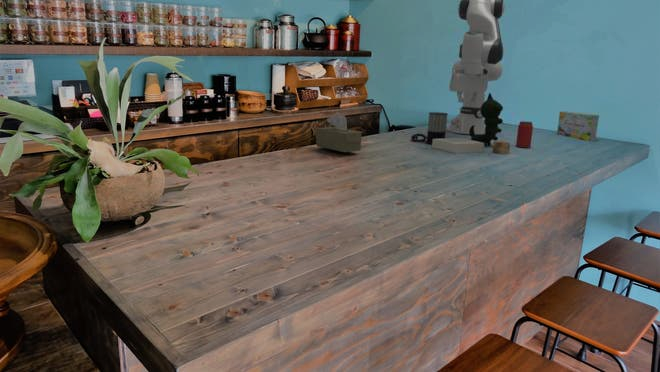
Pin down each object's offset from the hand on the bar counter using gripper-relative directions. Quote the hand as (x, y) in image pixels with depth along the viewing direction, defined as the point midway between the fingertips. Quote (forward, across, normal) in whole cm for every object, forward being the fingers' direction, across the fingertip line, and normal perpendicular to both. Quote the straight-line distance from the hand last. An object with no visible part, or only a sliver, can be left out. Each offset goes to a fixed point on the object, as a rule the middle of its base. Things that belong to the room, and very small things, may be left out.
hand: (466, 102), depth 221 cm
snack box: (+21, +90, +3) cm, 92 cm away
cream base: (+21, -1, +2) cm, 21 cm away
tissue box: (+22, -51, +24) cm, 60 cm away
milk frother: (+21, +1, +23) cm, 31 cm away
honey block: (+21, +11, -12) cm, 27 cm away
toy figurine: (+21, +24, +9) cm, 33 cm away
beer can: (+21, +38, -3) cm, 44 cm away
